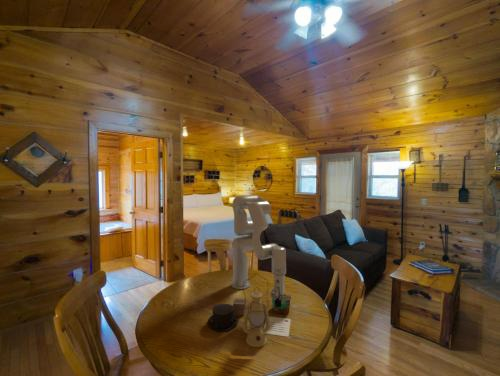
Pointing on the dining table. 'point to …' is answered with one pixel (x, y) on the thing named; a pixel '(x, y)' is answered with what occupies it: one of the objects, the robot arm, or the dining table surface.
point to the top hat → (222, 318)
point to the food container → (284, 303)
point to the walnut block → (239, 306)
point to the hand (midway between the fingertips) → (279, 302)
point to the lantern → (256, 320)
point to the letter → (278, 326)
